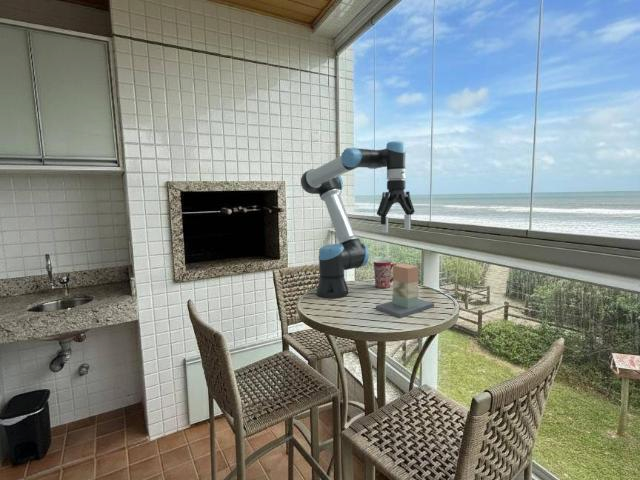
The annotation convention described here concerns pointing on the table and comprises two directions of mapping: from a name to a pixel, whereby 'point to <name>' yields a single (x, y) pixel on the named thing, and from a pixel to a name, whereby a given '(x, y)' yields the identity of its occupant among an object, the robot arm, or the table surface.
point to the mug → (383, 273)
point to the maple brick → (405, 289)
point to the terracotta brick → (406, 273)
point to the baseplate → (403, 310)
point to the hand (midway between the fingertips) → (396, 231)
